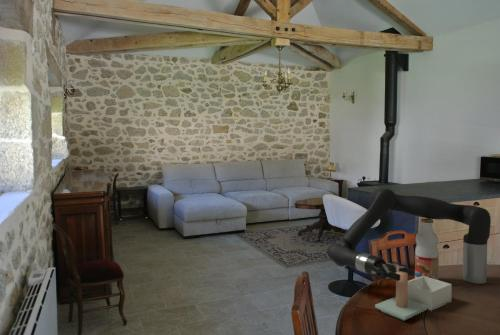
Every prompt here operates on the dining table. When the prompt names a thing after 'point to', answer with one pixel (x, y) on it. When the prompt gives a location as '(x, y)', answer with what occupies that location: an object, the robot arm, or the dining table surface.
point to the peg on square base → (401, 301)
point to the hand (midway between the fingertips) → (406, 275)
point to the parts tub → (429, 292)
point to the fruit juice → (426, 251)
